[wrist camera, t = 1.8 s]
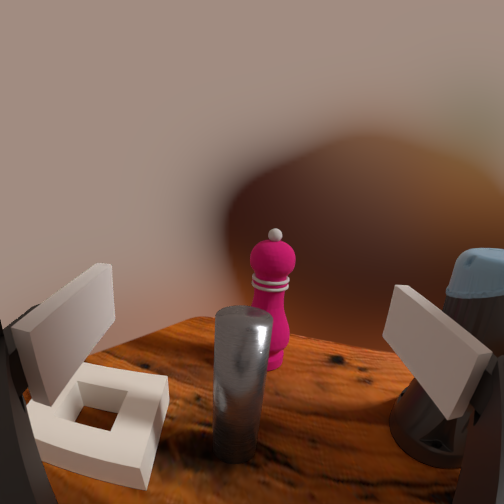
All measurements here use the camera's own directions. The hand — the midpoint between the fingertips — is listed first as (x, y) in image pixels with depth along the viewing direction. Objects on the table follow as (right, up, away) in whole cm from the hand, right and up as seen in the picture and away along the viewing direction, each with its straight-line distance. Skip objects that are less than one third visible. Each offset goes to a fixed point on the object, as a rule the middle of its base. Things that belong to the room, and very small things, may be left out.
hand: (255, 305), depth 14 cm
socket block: (-17, -17, +14) cm, 28 cm away
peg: (-2, -18, +15) cm, 23 cm away
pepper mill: (+1, -14, +32) cm, 35 cm away
